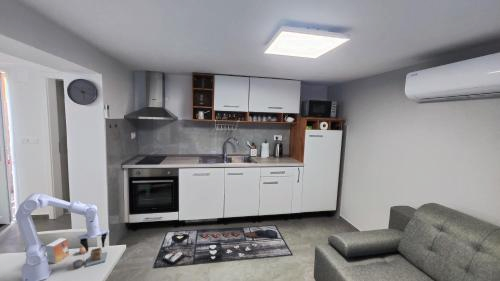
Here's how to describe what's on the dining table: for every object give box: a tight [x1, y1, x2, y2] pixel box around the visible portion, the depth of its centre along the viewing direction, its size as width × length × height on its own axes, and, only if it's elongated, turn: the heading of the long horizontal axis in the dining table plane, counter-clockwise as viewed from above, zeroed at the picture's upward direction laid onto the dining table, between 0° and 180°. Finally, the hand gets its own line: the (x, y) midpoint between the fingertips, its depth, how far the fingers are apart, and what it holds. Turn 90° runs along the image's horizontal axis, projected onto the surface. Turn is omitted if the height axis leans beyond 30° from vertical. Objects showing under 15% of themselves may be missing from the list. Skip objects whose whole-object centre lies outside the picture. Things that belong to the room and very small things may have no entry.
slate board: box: [85, 251, 108, 268], centre depth 128 cm, size 9×9×1 cm
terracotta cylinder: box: [79, 245, 89, 255], centre depth 135 cm, size 4×4×3 cm
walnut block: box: [89, 247, 103, 262], centre depth 128 cm, size 4×4×5 cm
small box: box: [45, 237, 70, 264], centre depth 129 cm, size 8×6×10 cm
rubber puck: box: [72, 259, 83, 270], centre depth 122 cm, size 4×4×3 cm
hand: (95, 248), depth 127 cm, fingers open, 7 cm apart
